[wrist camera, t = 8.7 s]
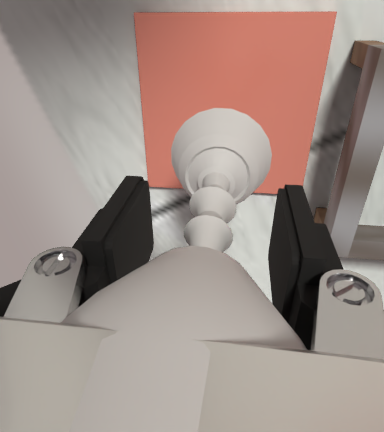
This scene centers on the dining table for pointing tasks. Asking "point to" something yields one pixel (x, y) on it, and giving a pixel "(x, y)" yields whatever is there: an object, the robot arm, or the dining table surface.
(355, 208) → the ring stand
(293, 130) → the coaster
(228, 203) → the chalice
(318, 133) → the dining table surface
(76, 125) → the dining table surface
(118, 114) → the dining table surface
